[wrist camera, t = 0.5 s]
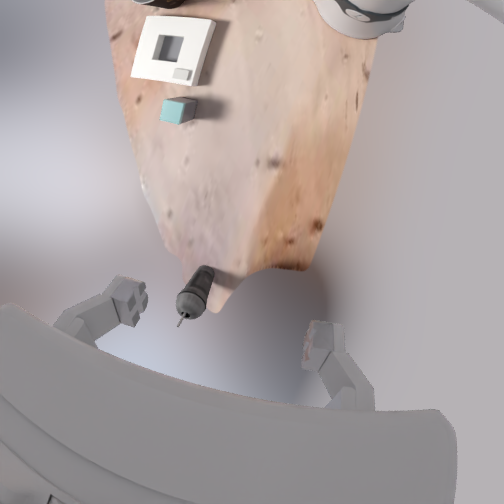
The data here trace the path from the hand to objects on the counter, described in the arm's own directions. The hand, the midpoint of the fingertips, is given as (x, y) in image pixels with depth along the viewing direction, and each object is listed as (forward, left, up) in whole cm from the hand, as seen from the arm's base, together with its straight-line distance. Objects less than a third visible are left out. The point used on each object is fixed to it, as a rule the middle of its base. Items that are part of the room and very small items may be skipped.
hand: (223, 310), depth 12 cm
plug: (0, -21, -44) cm, 48 cm away
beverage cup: (+39, -8, -44) cm, 59 cm away
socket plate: (-12, -26, -44) cm, 53 cm away
